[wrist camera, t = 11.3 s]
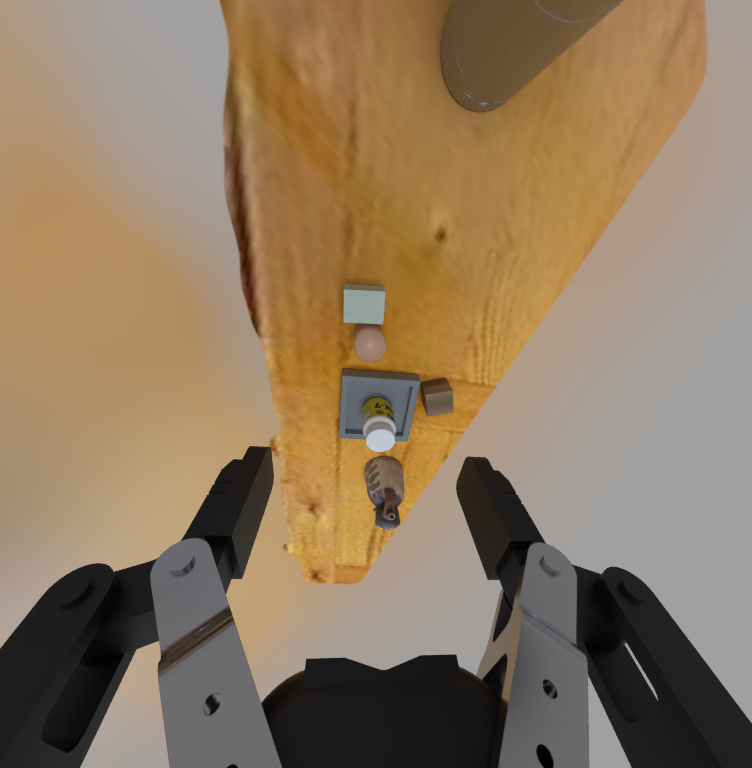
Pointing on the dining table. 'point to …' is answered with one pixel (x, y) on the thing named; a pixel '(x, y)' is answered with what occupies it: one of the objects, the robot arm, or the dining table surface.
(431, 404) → the walnut block
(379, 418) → the supplement bottle
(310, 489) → the dining table surface
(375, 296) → the sage block
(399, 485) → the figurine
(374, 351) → the pink rounded capsule
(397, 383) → the tray
